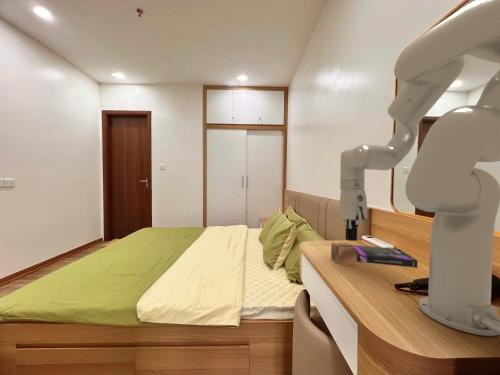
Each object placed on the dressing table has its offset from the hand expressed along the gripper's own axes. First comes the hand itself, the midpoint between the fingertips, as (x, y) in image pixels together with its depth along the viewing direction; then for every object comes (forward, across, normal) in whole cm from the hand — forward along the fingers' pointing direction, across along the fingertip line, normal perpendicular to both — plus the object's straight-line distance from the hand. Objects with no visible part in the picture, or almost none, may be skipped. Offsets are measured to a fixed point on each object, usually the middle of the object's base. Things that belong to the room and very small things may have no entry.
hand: (351, 240), depth 75 cm
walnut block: (+6, +2, 0) cm, 6 cm away
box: (+10, +9, -17) cm, 21 cm away
